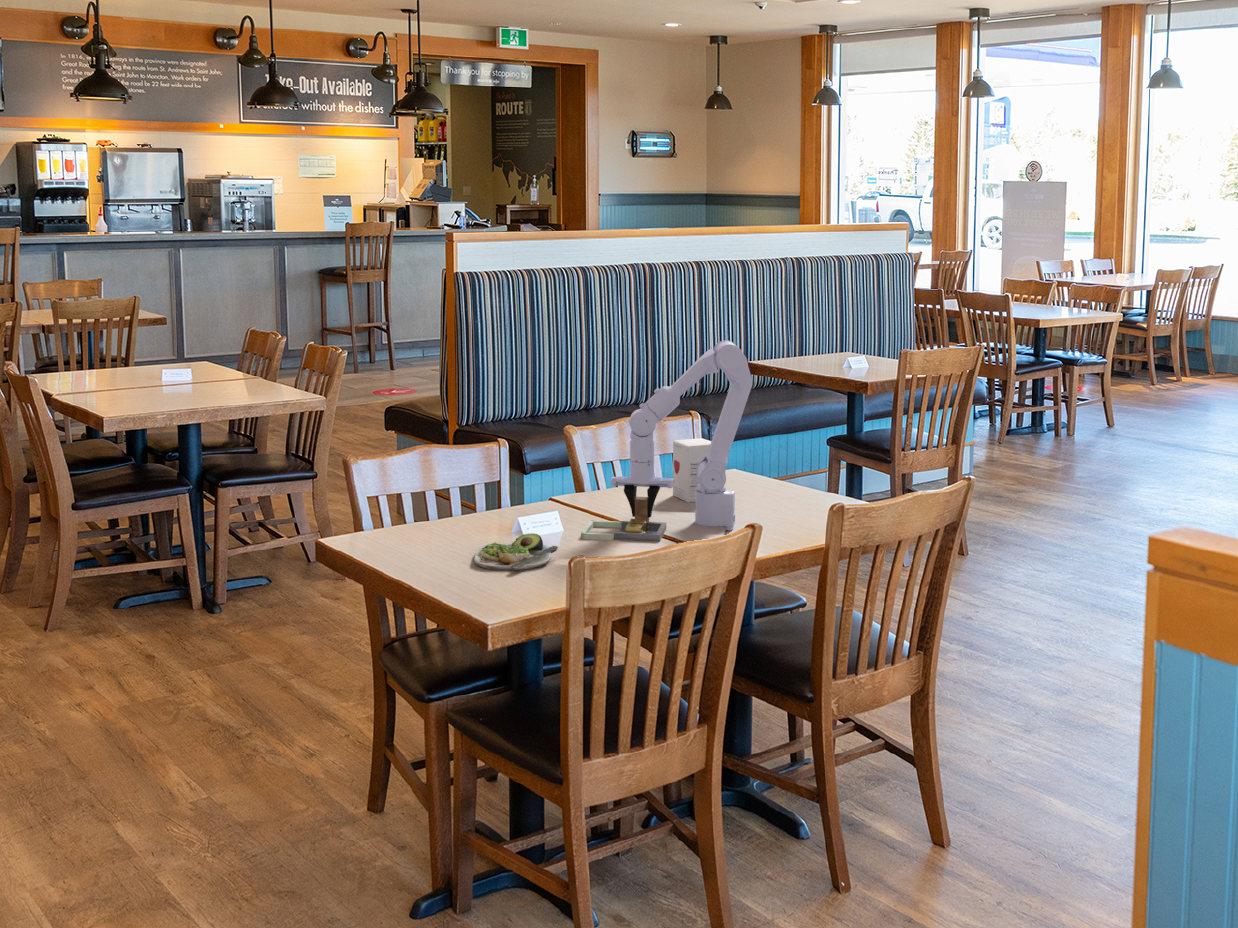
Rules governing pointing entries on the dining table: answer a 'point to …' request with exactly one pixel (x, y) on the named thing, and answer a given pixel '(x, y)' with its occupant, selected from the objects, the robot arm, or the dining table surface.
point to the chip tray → (600, 536)
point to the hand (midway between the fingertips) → (642, 516)
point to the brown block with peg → (641, 508)
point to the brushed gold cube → (639, 521)
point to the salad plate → (515, 553)
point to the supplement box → (687, 466)
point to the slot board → (651, 534)
